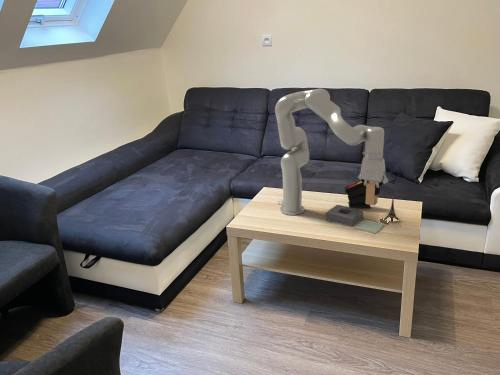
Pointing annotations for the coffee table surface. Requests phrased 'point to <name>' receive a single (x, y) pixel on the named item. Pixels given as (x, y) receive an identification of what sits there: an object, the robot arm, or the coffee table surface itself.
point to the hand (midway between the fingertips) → (372, 193)
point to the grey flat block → (344, 215)
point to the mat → (369, 226)
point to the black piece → (357, 195)
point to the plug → (371, 193)
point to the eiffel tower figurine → (390, 215)
